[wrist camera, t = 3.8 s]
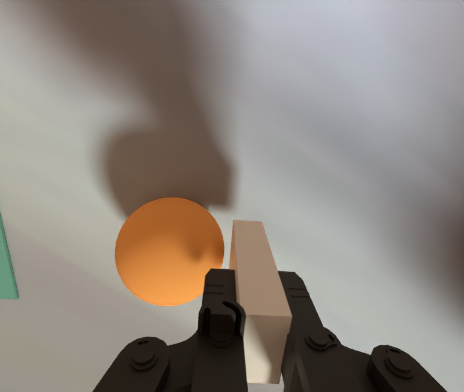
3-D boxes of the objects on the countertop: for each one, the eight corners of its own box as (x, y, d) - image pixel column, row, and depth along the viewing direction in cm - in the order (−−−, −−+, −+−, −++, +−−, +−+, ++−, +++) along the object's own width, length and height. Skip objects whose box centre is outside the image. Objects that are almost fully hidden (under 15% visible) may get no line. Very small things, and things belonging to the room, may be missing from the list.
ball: (227, 187, 16) (226, 227, 11) (222, 267, 18) (219, 335, 12) (134, 181, 16) (86, 218, 10) (138, 262, 17) (99, 329, 12)
